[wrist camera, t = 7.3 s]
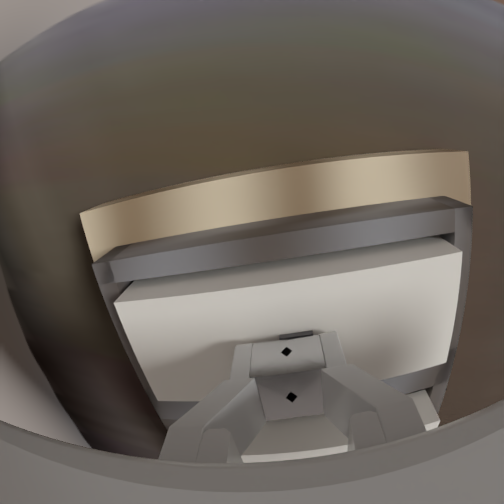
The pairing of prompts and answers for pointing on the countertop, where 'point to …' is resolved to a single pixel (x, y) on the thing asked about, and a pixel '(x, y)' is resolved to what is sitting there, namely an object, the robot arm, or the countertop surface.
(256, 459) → the key two
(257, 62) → the countertop surface
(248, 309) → the key one
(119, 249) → the key panel
